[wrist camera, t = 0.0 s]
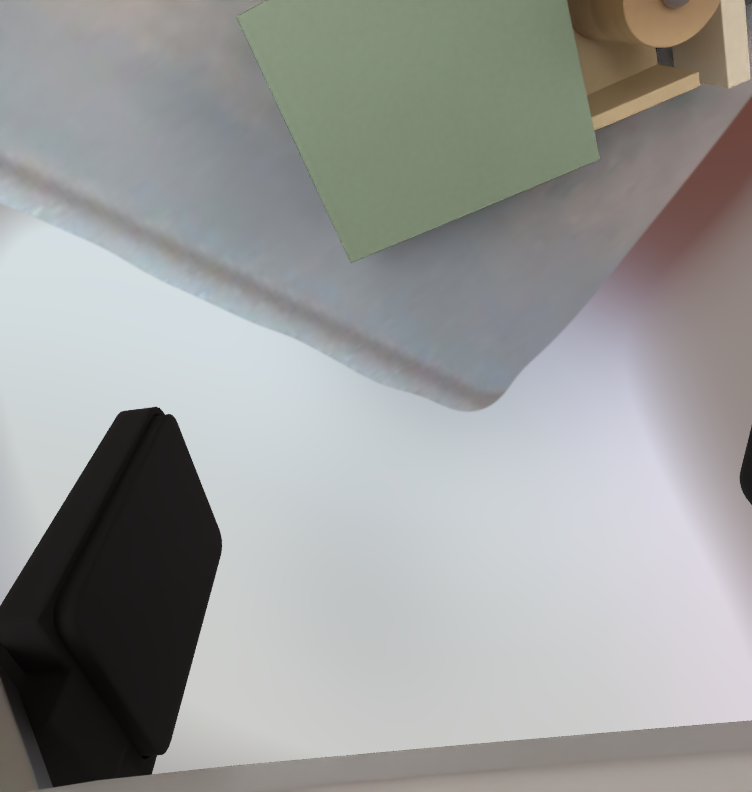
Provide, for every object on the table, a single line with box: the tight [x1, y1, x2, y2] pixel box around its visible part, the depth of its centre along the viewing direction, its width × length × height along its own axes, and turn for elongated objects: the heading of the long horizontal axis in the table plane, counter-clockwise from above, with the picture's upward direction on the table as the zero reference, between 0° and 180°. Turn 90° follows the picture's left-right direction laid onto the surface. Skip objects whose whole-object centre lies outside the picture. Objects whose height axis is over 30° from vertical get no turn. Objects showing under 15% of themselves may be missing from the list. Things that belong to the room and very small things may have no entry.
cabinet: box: [237, 0, 600, 263], centre depth 36 cm, size 16×14×9 cm
